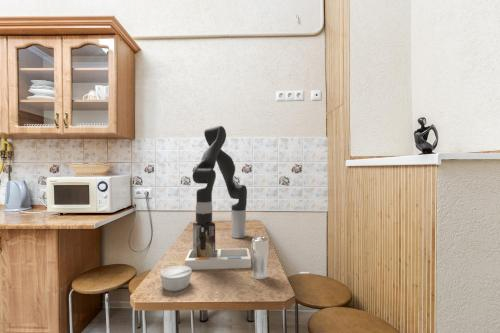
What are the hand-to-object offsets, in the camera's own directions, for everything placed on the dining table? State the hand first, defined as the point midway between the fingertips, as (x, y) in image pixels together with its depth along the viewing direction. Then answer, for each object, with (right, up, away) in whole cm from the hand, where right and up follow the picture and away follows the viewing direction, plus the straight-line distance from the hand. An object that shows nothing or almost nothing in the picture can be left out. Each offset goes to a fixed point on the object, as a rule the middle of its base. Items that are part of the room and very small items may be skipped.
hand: (203, 246), depth 114 cm
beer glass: (+25, -7, -15) cm, 30 cm away
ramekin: (-6, -7, -23) cm, 25 cm away
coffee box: (0, -5, 0) cm, 5 cm away
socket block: (+7, -7, -1) cm, 10 cm away
